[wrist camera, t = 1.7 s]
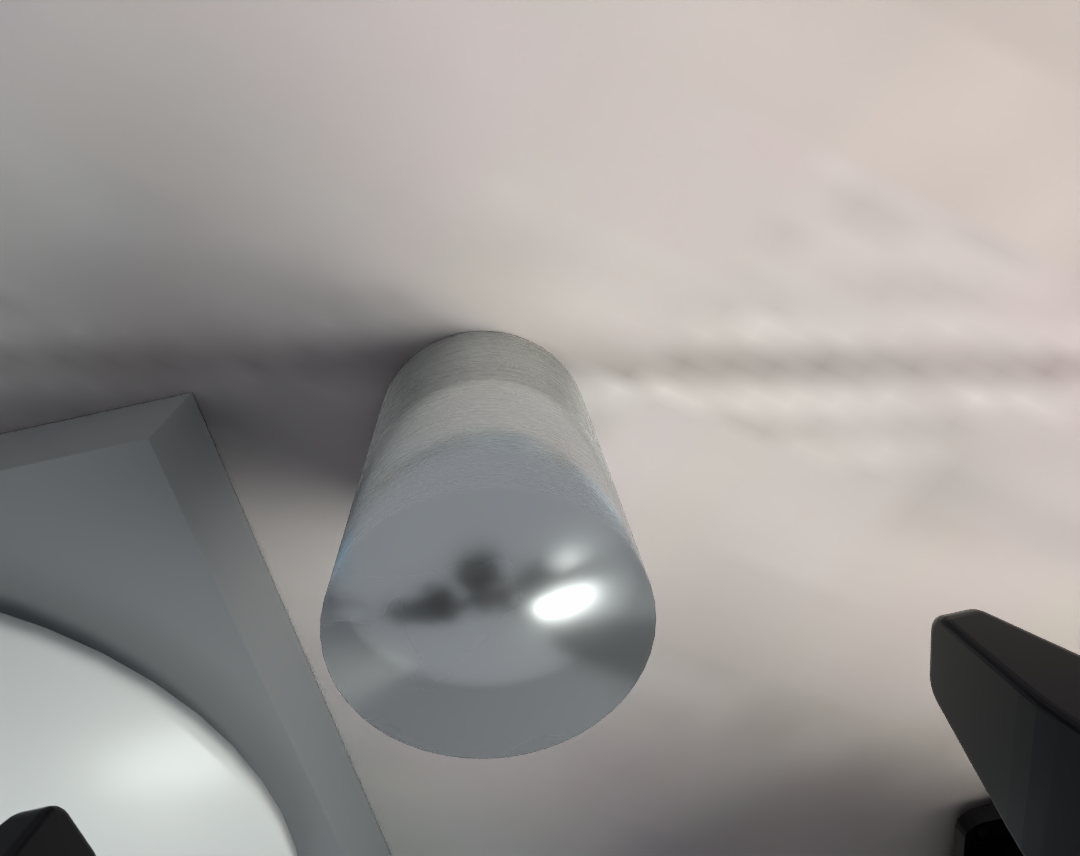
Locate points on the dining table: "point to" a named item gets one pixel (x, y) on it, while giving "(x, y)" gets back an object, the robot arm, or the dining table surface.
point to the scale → (157, 653)
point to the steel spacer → (486, 560)
